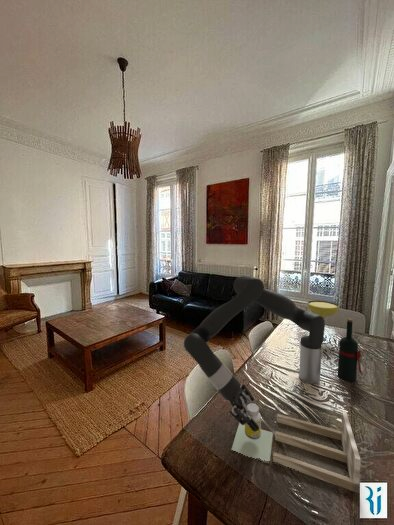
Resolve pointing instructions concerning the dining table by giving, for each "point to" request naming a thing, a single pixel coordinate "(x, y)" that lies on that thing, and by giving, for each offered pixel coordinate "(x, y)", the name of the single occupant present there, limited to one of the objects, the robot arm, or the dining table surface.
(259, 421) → the supplement bottle
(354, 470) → the lane rack
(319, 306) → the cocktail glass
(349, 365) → the wine bottle
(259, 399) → the dining table surface
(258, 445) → the mat
